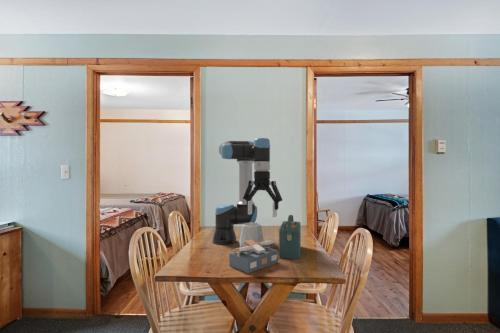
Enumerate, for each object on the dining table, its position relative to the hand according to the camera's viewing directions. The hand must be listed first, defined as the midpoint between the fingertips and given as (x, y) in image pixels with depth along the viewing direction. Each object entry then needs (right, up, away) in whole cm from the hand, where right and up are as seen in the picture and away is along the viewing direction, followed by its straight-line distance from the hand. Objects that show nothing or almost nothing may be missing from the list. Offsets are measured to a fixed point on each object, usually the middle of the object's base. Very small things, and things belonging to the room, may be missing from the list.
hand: (262, 215), depth 128 cm
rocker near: (-9, -16, -2) cm, 19 cm away
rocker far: (+1, -17, +8) cm, 18 cm away
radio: (+17, -25, +23) cm, 38 cm away
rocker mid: (-4, -16, +3) cm, 17 cm away
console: (-4, -24, +3) cm, 24 cm away
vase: (-5, -25, +24) cm, 35 cm away
